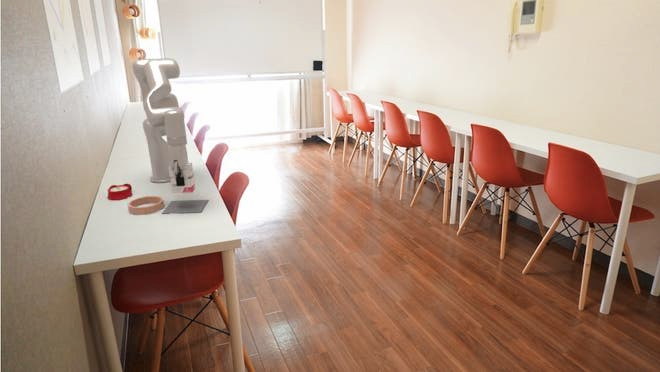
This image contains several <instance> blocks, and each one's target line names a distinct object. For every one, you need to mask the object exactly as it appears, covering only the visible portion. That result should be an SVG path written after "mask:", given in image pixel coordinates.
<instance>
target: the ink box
mask: <svg viewBox="0 0 660 372" xmlns="http://www.w3.org/2000/svg"><path fill="white" fill-rule="evenodd" d="M178 169H180V168H178ZM178 172H180V171H178ZM180 173H181V172H180ZM169 174H170V181H169V182H170V187H171V193H172V194H185V193H186V194H187V193H193V192H194V191H195V190H196V185H195V178H194V168H193V162H188V163H186V164H185V165H184V169H183V176H184V182H185V186H177V184H176V177H175V173H174V170H171V169H170V165H169Z"/></svg>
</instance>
